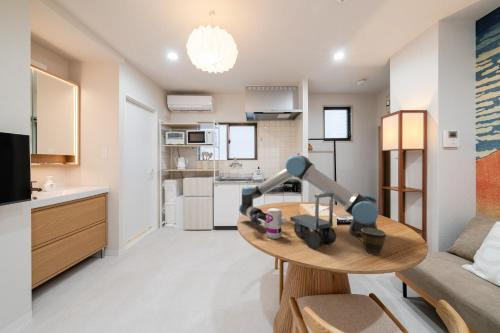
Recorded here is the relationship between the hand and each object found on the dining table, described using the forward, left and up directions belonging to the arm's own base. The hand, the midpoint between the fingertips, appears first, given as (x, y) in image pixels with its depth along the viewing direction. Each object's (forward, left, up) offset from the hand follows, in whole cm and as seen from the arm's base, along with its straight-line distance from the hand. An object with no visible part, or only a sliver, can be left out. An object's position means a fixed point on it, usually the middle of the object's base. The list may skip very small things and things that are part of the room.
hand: (275, 222), depth 116 cm
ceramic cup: (-45, -5, -9) cm, 46 cm away
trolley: (-18, -4, -8) cm, 20 cm away
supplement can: (+1, -1, -8) cm, 9 cm away
